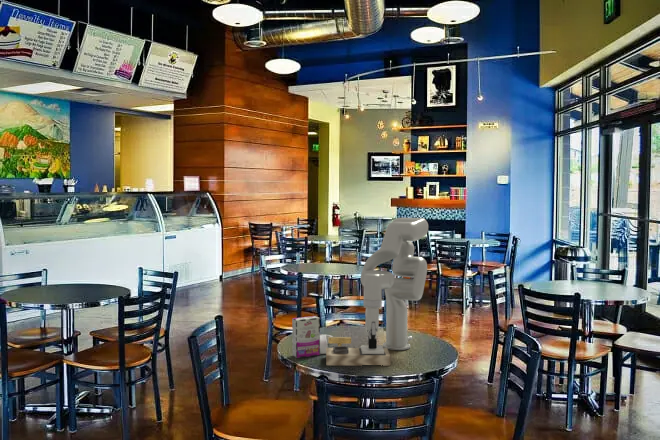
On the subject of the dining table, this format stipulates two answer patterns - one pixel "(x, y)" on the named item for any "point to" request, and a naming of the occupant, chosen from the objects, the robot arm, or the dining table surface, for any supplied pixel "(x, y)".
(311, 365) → the dining table surface
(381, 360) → the beige flat block
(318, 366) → the dining table surface
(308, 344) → the candy bar box
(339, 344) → the t key
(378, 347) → the cover
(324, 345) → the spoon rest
